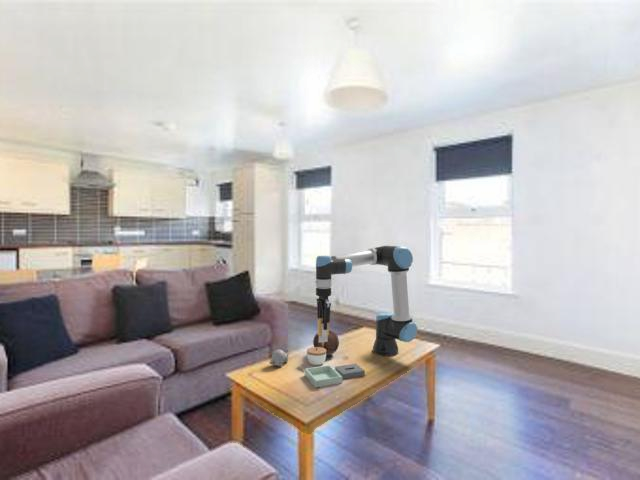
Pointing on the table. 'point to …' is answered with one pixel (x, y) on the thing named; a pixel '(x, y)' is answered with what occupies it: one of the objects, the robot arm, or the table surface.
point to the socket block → (350, 371)
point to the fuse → (321, 338)
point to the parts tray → (323, 376)
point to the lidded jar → (316, 355)
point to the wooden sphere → (327, 343)
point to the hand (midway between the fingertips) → (323, 334)
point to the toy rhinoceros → (279, 358)
